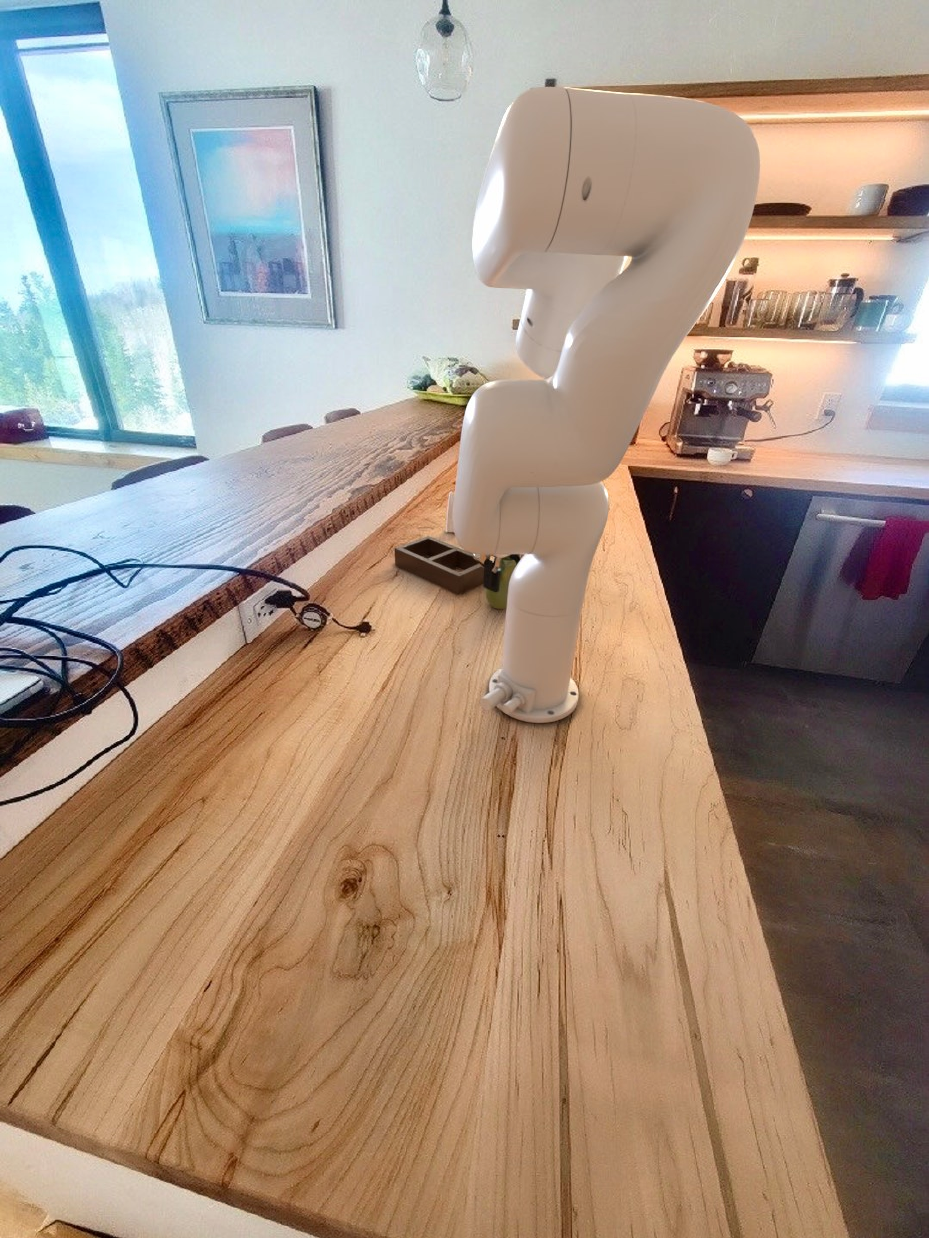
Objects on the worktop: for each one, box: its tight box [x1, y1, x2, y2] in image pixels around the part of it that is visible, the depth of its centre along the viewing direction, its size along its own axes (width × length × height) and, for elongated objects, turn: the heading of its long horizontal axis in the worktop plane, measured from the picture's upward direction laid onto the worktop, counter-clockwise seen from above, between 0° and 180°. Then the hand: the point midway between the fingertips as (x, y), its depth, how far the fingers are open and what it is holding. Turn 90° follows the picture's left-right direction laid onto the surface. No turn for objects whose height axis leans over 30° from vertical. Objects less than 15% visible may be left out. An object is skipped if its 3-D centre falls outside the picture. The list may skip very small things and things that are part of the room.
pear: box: [485, 556, 516, 610], centre depth 90 cm, size 6×5×10 cm
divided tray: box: [393, 535, 494, 596], centre depth 104 cm, size 10×19×4 cm, turn 47°
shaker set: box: [445, 491, 455, 533], centre depth 122 cm, size 12×4×11 cm, turn 76°
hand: (501, 583), depth 90 cm, fingers closed on pear, 5 cm apart
